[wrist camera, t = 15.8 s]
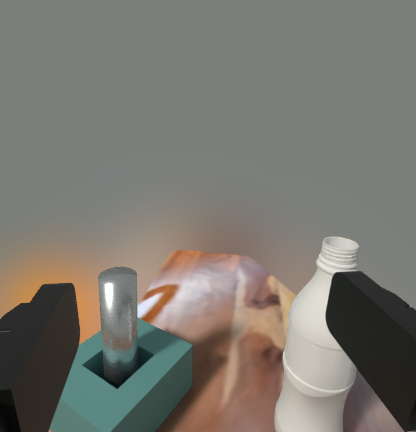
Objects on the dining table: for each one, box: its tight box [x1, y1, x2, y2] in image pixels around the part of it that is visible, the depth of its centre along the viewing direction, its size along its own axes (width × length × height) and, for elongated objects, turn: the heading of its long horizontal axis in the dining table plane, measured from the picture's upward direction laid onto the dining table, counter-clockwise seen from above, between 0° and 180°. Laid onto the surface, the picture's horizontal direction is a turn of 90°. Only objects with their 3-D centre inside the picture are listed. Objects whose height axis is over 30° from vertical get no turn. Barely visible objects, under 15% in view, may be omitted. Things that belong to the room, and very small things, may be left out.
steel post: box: [98, 267, 138, 389], centre depth 36 cm, size 4×4×18 cm
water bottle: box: [274, 237, 359, 432], centre depth 31 cm, size 7×7×25 cm
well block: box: [49, 318, 193, 432], centre depth 38 cm, size 14×12×7 cm
